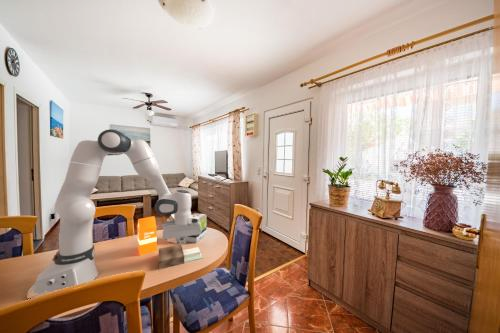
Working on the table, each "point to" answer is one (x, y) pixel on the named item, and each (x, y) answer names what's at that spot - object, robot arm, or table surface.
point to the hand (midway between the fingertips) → (182, 243)
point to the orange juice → (147, 235)
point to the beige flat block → (191, 252)
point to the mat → (193, 258)
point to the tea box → (203, 228)
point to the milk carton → (173, 240)
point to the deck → (170, 256)
